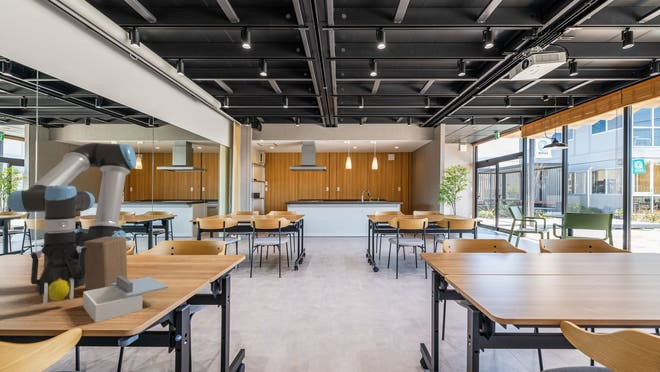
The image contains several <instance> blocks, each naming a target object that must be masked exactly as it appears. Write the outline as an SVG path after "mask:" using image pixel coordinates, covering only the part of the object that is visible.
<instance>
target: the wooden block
mask: <svg viewBox="0 0 660 372" xmlns="http://www.w3.org/2000/svg"><path fill="white" fill-rule="evenodd" d="M84 247H86V252H85V254H84V255H85V283H84V286H85V287H84V288H85V291H89V290H95V289H100V288H105V287H110V286H112V283H116V282H117V276H120V275H121V276H123V277H124V278H126V279H127V280H128V269H127V268H128V267H127V266H128V264H127V262H128V261H127V239H125V238H124V237H102V238H98V239H93V240H89V241H86V242H84Z"/></svg>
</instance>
